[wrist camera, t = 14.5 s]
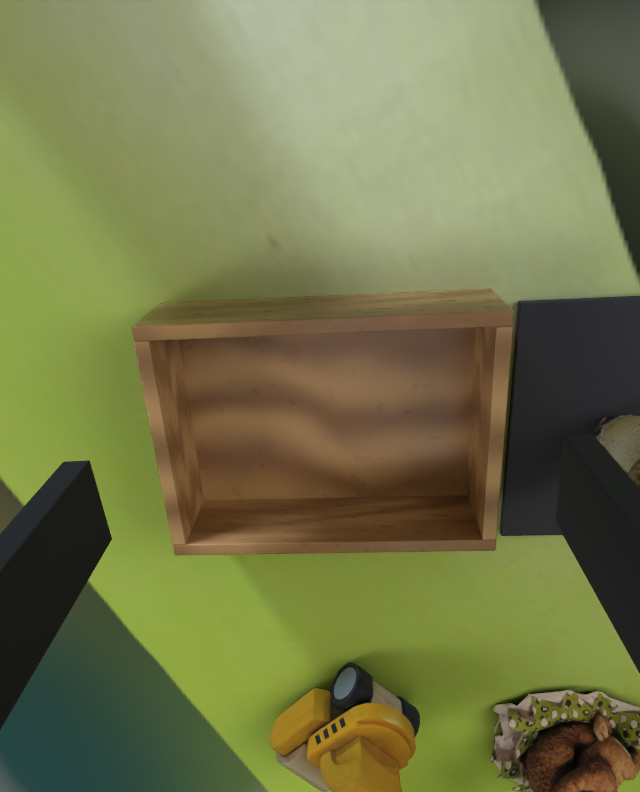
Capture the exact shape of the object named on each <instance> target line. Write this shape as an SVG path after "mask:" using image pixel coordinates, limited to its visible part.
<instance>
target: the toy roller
mask: <svg viewBox="0 0 640 792" xmlns="http://www.w3.org/2000/svg"><path fill="white" fill-rule="evenodd" d="M419 725H420V716H419V712H418V710H417V709H416V708H415V707H414V706H412V705H411V704H409V703H408V702H407V701H405V700H404V699H403V698H401V697H398V696H395V695H393V694H392V693H390V692H389V691H388V690H386V689H385V688H383V687H382V686H381V685H379V684H378V683H376V682H375V681H374V680H373V678H372V676H371V675H370V674H369V673H367V672H366V671H365V670H363V669H362V668H361V667H359V666H358V665H356V664H354V663H349V664H346V665H345V666H344V667H343V668H342V669H341V670H340V671H339V672H338V674H337V675H336V677H335V679H334V681H333V684H332V686H331V692H330V691H328V690H323V689H317V688H315V689H312V690H311V691H310V692H309V693H307V694H306V695H305V696H303V697H302V698H301V699H299V700H298V701H297V702H296V703H294V704H293V705H292V706H291V707H290V708H288V709H287V710H286V711H285V712H283V713H282V714H281V715H280V716H279V717H278V718H277V719H276V720H275V722H274V724H273V726H272V729H271V735H270V746H271V748H272V749H274V750H275V751H276V758H277V761H278V762H279V763H280V764H281V765H283V766H284V767H286V768H287V769H289V770H290V771H292V772H293V773H295V774H296V775H298V776H299V777H301V778H302V779H304V780H305V781H307V782H308V783H310V784H311V785H313V786H314V787H316V788H317V789H319V790H320V791H324V792H325V791H329V790H331V791H332V792H402V789H401V785H400V774H399V770H400V769H402V768H404V767H405V766H407V764H408V760H409V759H410V758H411V757H412V756H413V754H414V752H415V749H416V745H415V736H416V734H417V732H418V728H419Z"/></svg>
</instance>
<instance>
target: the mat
mask: <svg viewBox="0 0 640 792" xmlns="http://www.w3.org/2000/svg"><path fill="white" fill-rule="evenodd" d="M626 414H634V415H636V416H640V296H628V297H605V298H582V299H558V300H535V301H519V303H518V315H517V327H516V340H515V352H514V365H513V377H512V389H511V402H510V414H509V427H508V439H507V451H506V464H505V476H504V488H503V501H502V513H501V526H500V533H501V535H502V536H522V535H563V534H562V532H561V530H560V528H559V527H558V525H557V523H556V521H555V518H556V509H557V499H558V490H559V480H560V471H561V461H562V452H563V442H564V436H575V435H593V434H594V430H595V427H596V426H597V424H598V423H599V422H600V421H601V419H602V418H604V417H606V416H610V415H611V416H616V417H618V416H620V415H626ZM625 472H626V471H625ZM626 473H627V472H626ZM627 475H628V473H627Z"/></svg>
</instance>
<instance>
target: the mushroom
mask: <svg viewBox="0 0 640 792" xmlns="http://www.w3.org/2000/svg"><path fill="white" fill-rule="evenodd" d="M593 435H594V436H595V437H596V438H597V439H598V440H599V441H600V443H601V444H602V445H603V446H604V447H605V449H606V450H607V451H608V452H609V453H610V454H611V456H612V457H613V458H614V459H615V460H616V462H617V463H618V464H619V465H620V466H621V467H622V469H623V470H624V471H626V472H627V473H628V476H629V477H630V478H631V479H632V480H633V482H634V483H635V484H636V485H637V486H638V488H639V489H640V416H636V415H634V414H626V415H620V416H618V417H616V416H611V415H610V416H606V417H604V418H602V419H601V421H600V422H599V423H598V424H597V426H596V427H595V430H594V434H593Z"/></svg>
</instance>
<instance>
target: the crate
mask: <svg viewBox="0 0 640 792" xmlns="http://www.w3.org/2000/svg"><path fill="white" fill-rule="evenodd" d="M513 318H514V311H513V310H512V309H511V308H510V307H509V306H508V305H507V304H506V303H505V302H504V301H503V300H502V299H501V298H500V297H499V296H498V295H497V294H495V293H494V292H493V291H492V289H469V290H446V291H424V292H402V293H380V294H357V295H335V296H313V297H291V298H268V299H246V300H224V301H201V302H179V303H161V304H160V305H159V306H157V307H156V308H155V309H154V310H152V311H151V312H150V313H149V314H147V315H146V316H145V317H143V318H142V319H141V320H140V321H138V322H137V323H136V324H135V325H133V326H132V327H131V328H132V334H133V339H134V341H135V342H134V345H135V350H136V355H137V360H138V365H139V371H140V376H141V381H142V386H143V392H144V397H145V402H146V407H147V412H148V418H149V423H150V428H151V433H152V439H153V444H154V449H155V454H156V459H157V465H158V470H159V475H160V480H161V486H162V491H163V496H164V501H165V506H166V512H167V517H168V522H169V527H170V532H171V538H172V543H173V548H174V553H175V555H225V554H292V553H359V552H426V551H493V550H495V548H496V537H497V524H498V511H499V498H500V486H501V473H502V460H503V447H504V434H505V422H506V409H507V396H508V383H509V370H510V358H511V345H512V332H513Z"/></svg>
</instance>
